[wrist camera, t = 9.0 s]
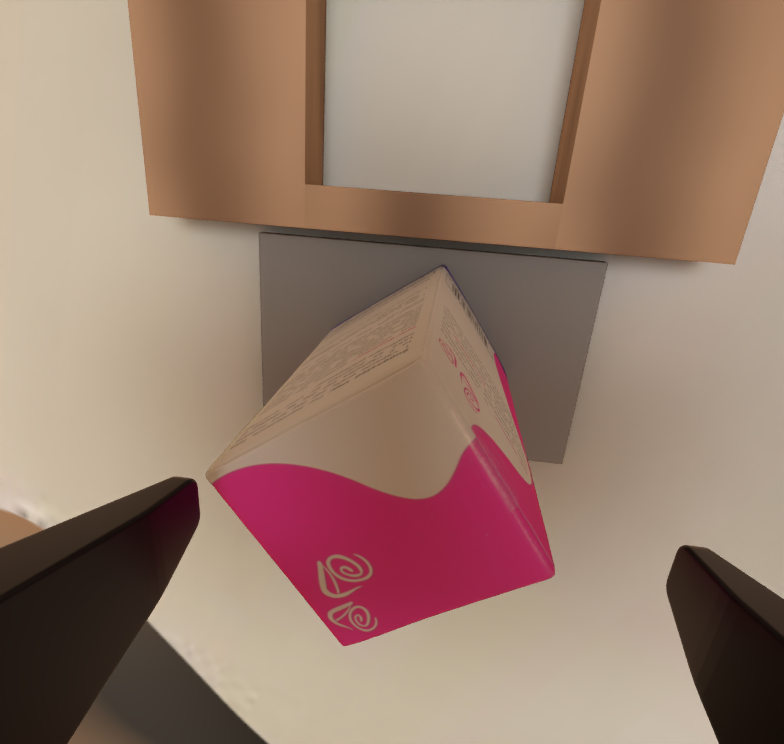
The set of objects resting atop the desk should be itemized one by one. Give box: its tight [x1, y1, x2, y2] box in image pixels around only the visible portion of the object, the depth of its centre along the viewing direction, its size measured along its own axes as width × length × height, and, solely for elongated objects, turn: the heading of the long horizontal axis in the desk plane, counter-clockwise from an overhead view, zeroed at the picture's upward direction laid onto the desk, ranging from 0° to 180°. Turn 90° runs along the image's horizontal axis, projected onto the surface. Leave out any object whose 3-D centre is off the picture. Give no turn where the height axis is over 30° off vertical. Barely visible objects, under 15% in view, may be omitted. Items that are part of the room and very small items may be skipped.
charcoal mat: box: [259, 232, 608, 464], centre depth 21 cm, size 14×9×1 cm, turn 85°
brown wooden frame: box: [128, 0, 784, 264], centre depth 16 cm, size 21×12×2 cm, turn 85°
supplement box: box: [206, 264, 555, 646], centre depth 15 cm, size 6×6×12 cm
